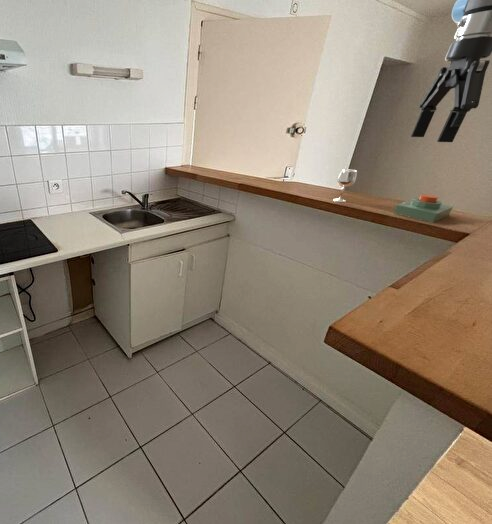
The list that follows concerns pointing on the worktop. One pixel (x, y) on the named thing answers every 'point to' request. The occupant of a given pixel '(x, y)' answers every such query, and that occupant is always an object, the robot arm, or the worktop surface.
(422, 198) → the release button
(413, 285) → the worktop surface
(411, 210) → the green button base
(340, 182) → the wineglass
